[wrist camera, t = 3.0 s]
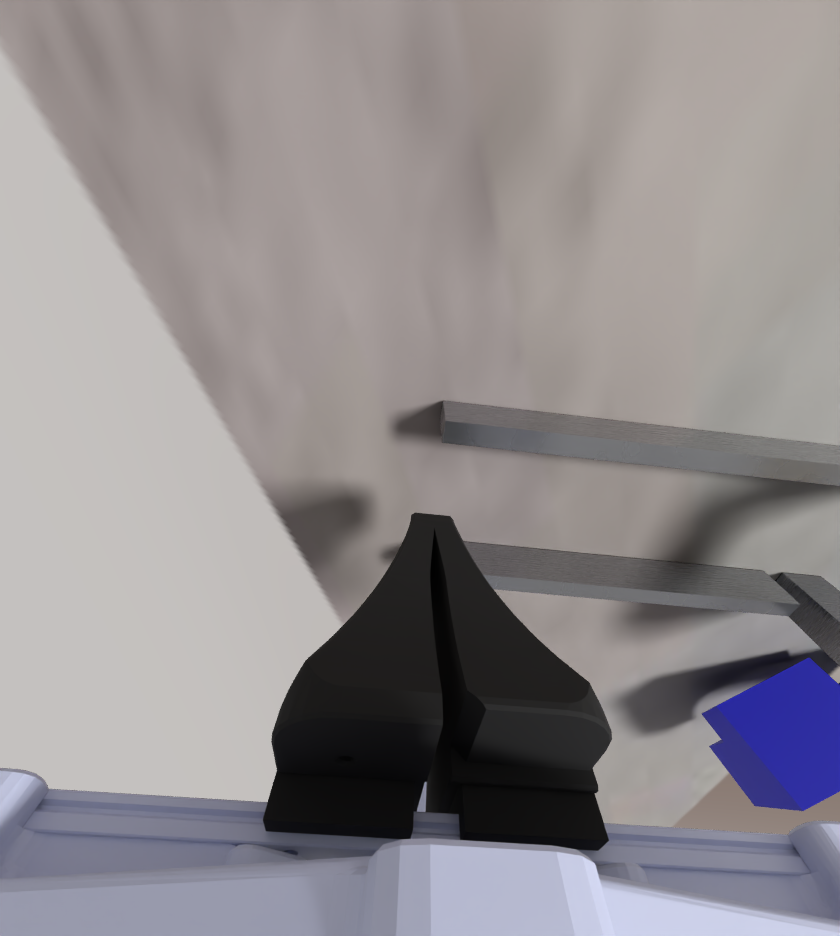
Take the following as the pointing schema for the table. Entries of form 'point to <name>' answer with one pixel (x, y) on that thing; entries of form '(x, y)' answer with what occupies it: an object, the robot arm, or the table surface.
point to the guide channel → (647, 448)
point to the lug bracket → (816, 610)
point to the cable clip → (782, 738)
